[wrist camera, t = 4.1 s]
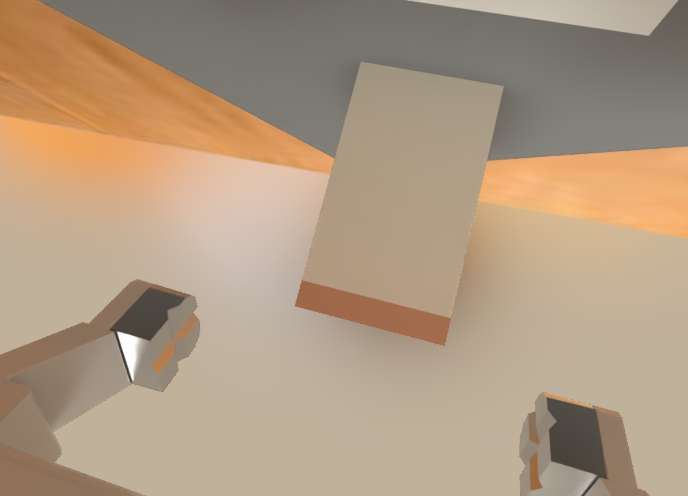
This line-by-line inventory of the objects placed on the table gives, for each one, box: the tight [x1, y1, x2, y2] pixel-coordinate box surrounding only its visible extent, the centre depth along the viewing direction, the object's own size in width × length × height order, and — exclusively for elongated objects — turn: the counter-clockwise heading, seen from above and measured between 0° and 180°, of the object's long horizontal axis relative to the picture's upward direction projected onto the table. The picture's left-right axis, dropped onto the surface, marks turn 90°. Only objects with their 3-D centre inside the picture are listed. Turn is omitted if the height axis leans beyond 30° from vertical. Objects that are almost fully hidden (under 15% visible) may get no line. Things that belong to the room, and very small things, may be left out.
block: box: [295, 62, 504, 346], centre depth 17 cm, size 4×4×8 cm
